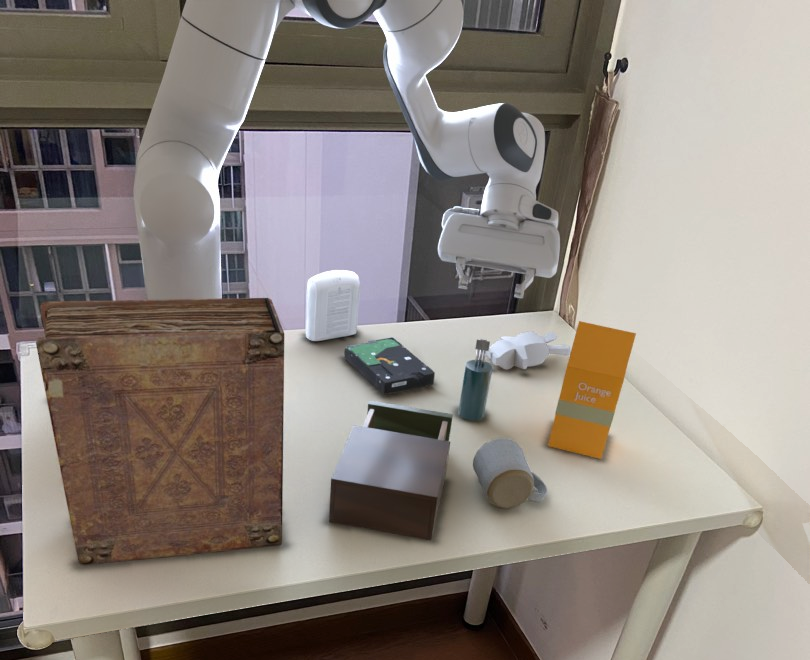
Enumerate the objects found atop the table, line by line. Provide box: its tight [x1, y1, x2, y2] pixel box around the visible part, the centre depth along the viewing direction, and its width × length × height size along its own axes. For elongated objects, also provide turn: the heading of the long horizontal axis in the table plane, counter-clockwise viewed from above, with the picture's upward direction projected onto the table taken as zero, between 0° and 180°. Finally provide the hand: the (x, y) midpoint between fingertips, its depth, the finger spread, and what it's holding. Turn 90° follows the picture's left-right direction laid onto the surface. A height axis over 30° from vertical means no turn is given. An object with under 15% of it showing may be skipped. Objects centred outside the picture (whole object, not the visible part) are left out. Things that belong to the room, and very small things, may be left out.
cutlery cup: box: [457, 338, 494, 422], centre depth 137 cm, size 4×4×13 cm
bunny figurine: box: [486, 330, 572, 370], centre depth 157 cm, size 10×5×15 cm
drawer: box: [362, 400, 454, 441], centre depth 127 cm, size 18×13×6 cm
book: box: [35, 297, 285, 566], centre depth 100 cm, size 25×9×30 cm, turn 106°
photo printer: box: [304, 269, 361, 342], centre depth 156 cm, size 10×4×12 cm, turn 124°
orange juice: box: [547, 320, 637, 460], centre depth 132 cm, size 8×9×20 cm
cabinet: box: [328, 424, 451, 541], centre depth 117 cm, size 14×14×7 cm
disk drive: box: [344, 337, 436, 395], centre depth 149 cm, size 10×3×15 cm
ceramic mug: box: [472, 437, 548, 509], centre depth 121 cm, size 11×8×8 cm
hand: (490, 292), depth 140 cm, fingers open, 8 cm apart
